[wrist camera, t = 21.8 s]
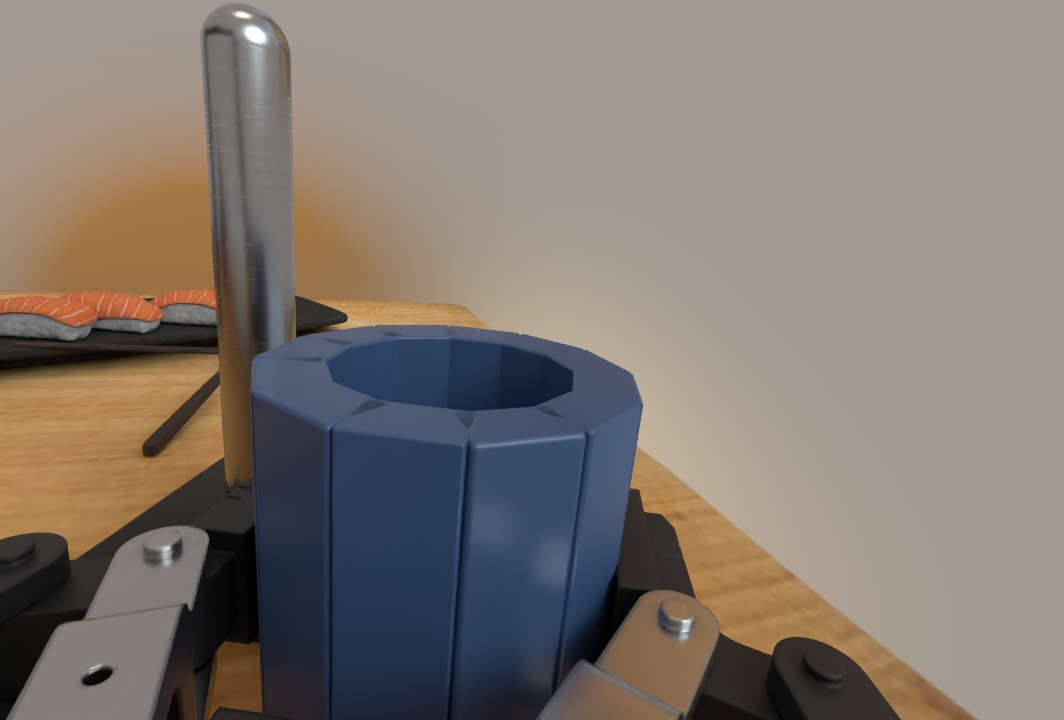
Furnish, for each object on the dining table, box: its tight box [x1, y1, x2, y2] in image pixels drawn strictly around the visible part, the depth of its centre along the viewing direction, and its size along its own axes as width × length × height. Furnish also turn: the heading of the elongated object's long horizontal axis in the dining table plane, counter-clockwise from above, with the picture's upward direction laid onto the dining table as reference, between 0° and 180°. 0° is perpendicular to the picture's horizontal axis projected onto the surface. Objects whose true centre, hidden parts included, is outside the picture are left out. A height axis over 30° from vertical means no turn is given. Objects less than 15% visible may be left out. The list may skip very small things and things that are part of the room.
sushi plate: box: [0, 288, 348, 455], centre depth 40 cm, size 29×30×4 cm
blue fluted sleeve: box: [250, 325, 643, 720], centre depth 11 cm, size 6×6×10 cm
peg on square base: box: [76, 3, 296, 641], centre depth 19 cm, size 9×9×18 cm
